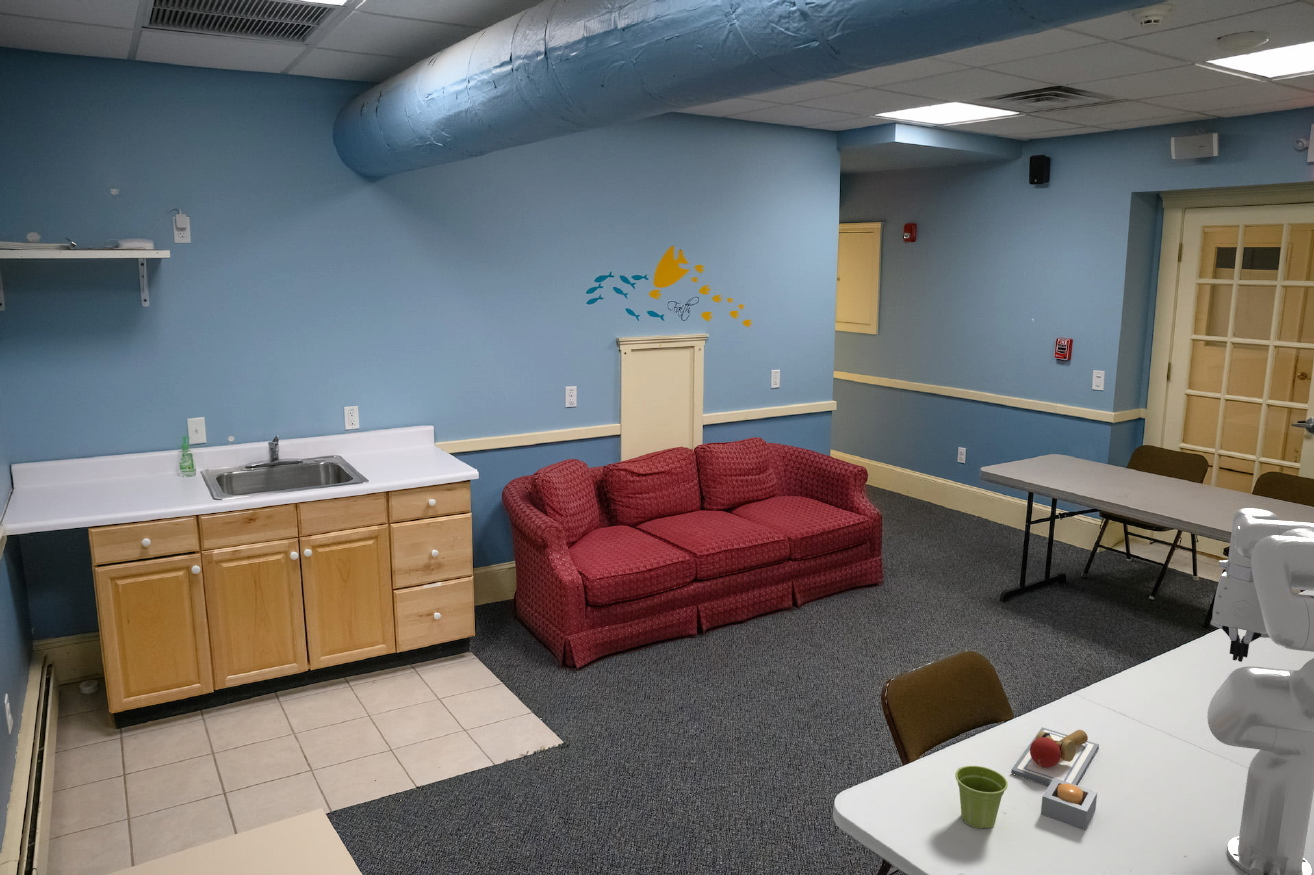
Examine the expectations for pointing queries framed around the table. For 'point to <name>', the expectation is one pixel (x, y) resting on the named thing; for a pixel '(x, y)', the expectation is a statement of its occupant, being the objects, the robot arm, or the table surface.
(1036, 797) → the table surface
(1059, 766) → the picture frame
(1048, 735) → the kendama
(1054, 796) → the button housing
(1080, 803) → the button
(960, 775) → the plant pot
